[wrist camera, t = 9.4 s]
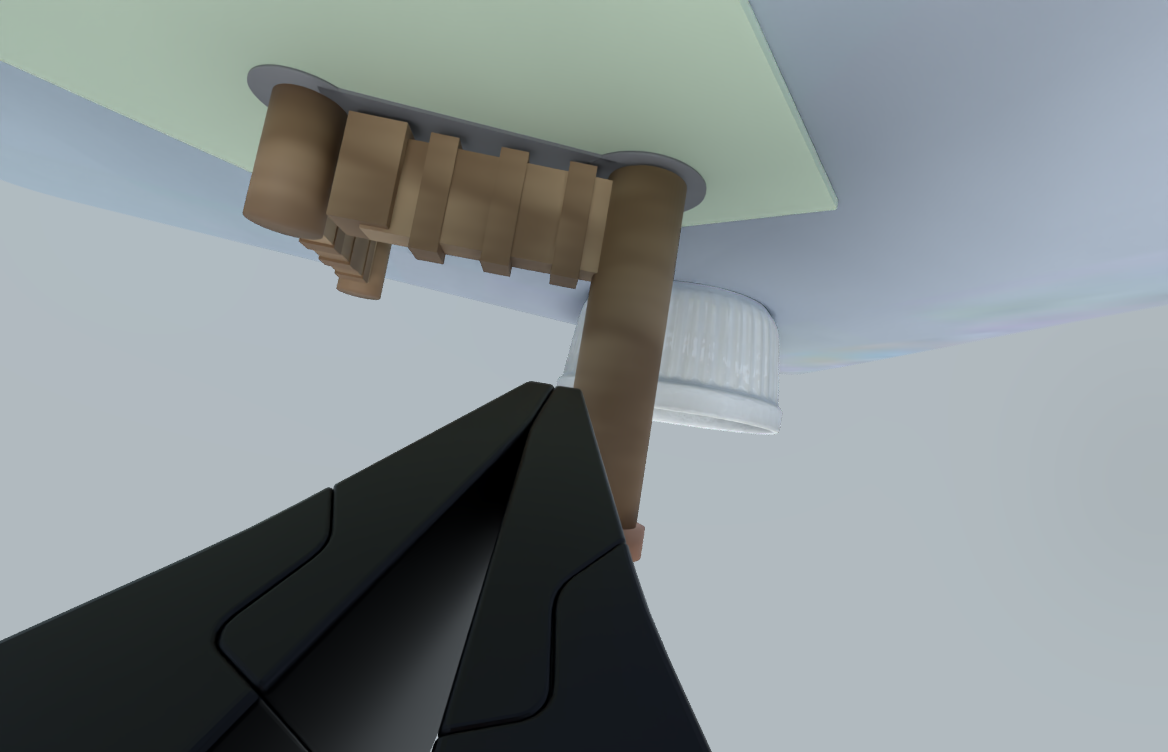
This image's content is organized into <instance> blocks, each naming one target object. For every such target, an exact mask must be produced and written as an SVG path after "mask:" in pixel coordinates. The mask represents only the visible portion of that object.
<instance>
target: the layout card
mask: <svg viewBox="0 0 1168 752" xmlns="http://www.w3.org/2000/svg"><path fill="white" fill-rule="evenodd" d="M0 61H2V62H4V63H7V64H9V65H11V66H13V67H16V68H18V69H20V70H22V71H25V72H27V73H29V74H31V75H34V76H36V77H38V78H40V79H43V80H45V81H47V82H49V83H52V84H54V85H56V86H58V87H60V88H63V89H65V90H67V91H69V92H72V93H74V94H76V95H78V96H81V97H83V98H85V99H87V100H90V101H92V102H94V103H96V104H99V105H101V106H103V107H105V108H107V109H110V110H112V111H114V112H116V113H119V114H121V115H123V116H125V117H128V118H130V119H132V120H134V121H137V122H139V123H141V124H143V125H146V126H148V127H150V128H152V129H155V130H157V131H159V132H161V133H163V134H166V135H168V136H170V137H172V138H175V139H177V140H179V141H181V142H184V143H186V144H188V145H190V146H193V147H195V148H197V149H199V150H202V151H204V152H206V153H208V154H210V155H213V156H215V157H217V158H219V159H222V160H224V161H226V162H228V163H231V164H233V165H235V166H237V167H240V168H242V169H244V170H246V171H249V172H251V173H252V171H253V167H254V163H255V159H256V155H257V151H258V146H259V142H260V138H261V134H262V130H263V126H264V122H265V117H266V113H267V109H268V105H269V101H270V97H271V92H272V88H273V87H274V86H275V85H277V84H284V83H286V84H295V85H299V86H303V87H306V88H309V89H311V90H314V91H316V92H318V93H320V94H322V95H324V96H326V97H328V98H329V99H331V100H332V101H334V102H335V103H337V104H338V105H339V106H340V107H341V108H342V109H343V110H344V111H345V112H346V114H347V115H348V113H349V111H354V112H359V113H364V114H369V115H374V116H378V117H383V118H388V119H393V120H398V121H402V122H407V123H408V124H409V127H410V129H411V131H412V134H413V136H414V138H415V140H418V141H423V142H428V143H429V141H430V136H431V132H434V133H438V134H443V135H448V136H453V137H458V138H460V141H461V145H462V149H463V150H467V151H472V152H476V153H481V154H486V155H491V156H496V157H500V152H501V147H506V148H511V149H516V150H521V151H525V152H529V163H530V164H535V165H540V166H545V167H550V168H554V169H559V170H564V171H569V166H570V161H574V162H579V163H583V164H588V165H593V166H598V167H597V173H596V177H598V178H603V179H608V178H609V176H610V174H611V173H612V172H613V171H615V170H617V169H619V168H622V167H626V166H632V165H648V166H655V167H659V168H663V169H666V170H669V171H671V172H673V173H675V174H677V175H678V176H680V177H681V178H682V179H683V180H684V181H685V183H686V185H687V193H686V199H685V206H684V213H683V219H682V226H681V227H685V226H694V225H703V224H712V223H721V222H730V221H739V220H748V219H757V218H766V217H775V216H784V215H793V214H802V213H811V212H820V211H829V210H837V205H838V199H837V197H836V195H835V193H834V190H833V188H832V186H831V184H830V182H829V179H828V177H827V175H826V173H825V170H824V168H823V166H822V164H821V162H820V159H819V157H818V155H817V153H816V150H815V148H814V146H813V144H812V142H811V139H810V137H809V135H808V133H807V130H806V128H805V126H804V124H803V121H802V119H801V117H800V115H799V113H798V110H797V108H796V106H795V104H794V101H793V99H792V97H791V95H790V93H789V90H788V88H787V86H786V84H785V81H784V79H783V77H782V75H781V73H780V70H779V68H778V66H777V64H776V61H775V59H774V57H773V55H772V52H771V50H770V48H769V46H768V44H767V41H766V39H765V37H764V35H763V32H762V30H761V28H760V26H759V24H758V21H757V19H756V17H755V15H754V12H753V10H752V8H751V6H750V4H749V1H748V0H0Z"/></svg>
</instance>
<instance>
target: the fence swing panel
mask: <svg viewBox="0 0 1168 752" xmlns="http://www.w3.org/2000/svg"><path fill="white" fill-rule="evenodd" d="M597 167H598V166H593V165H588V164H583V163H579V162H574V161H570V166H569V171H564V170H559V169H554V168H550V167H545V166H540V165H535V164H530V163H529V152H525V151H521V150H516V149H511V148H506V147H501V152H500V157H496V156H491V155H486V154H481V153H476V152H472V151H467V150H463V149H462V145H461V141H460V138H458V137H453V136H448V135H443V134H438V133H434V132H431V136H430V141H429V143H428V142H423V141H418V140H415V138H414V136H413V134H412V131H411V129H410V127H409V124H408V123H407V122H402V121H398V120H393V119H388V118H383V117H378V116H374V115H369V114H364V113H359V112H354V111H349V113H348V118H347V122H346V126H345V131H344V135H343V140H342V144H341V149H340V153H339V158H338V162H337V167H336V171H335V176H334V180H333V185H332V189H331V194H330V198H329V203H328V207H327V212H326V215H327V216H328V217H329V218H330V219H331V220H332V221H333V222H334V223H335V224H336V225H337V226H338V227H339V228H340V229H341V230H342V231H343V232H344V233H345V234H346V235H349V236H354V237H360V238H365V239H370V240H373V241H378V242H384V243H389V244H394V245H399V246H405V247H408V248H409V250H410V251H411V252H412V254H413V255H414V256H415V258H416V259H418V260H423V261H429V262H434V263H439V264H444V259H445V254H447V255H452V256H458V257H463V258H468V259H474V260H479V261H480V263H481V266H482V268H483V271H484V272H487V273H493V274H498V275H503V276H509V277H510V274H511V269H512V267H516V268H521V269H527V270H532V271H537V272H542V273H548V274H550V283H549V284H552V285H557V286H562V287H568V288H573V289H575V288H576V285H577V282H578V279H580V280H585V281H590V282H591V285H590V291H589V296H588V302H587V308H586V314H585V320H584V326H583V332H582V338H581V344H580V350H579V356H578V362H577V368H576V374H575V380H574V386H573V388H578V389H580V390H581V391H582V393H583V396H584V399H585V403H586V406H587V409H588V413H589V416H590V420H591V423H592V426H593V430H594V433H595V437H596V440H597V443H598V447H599V450H600V454H601V457H602V460H603V464H604V467H605V471H606V474H607V477H608V481H609V484H610V488H611V491H612V494H613V498H614V501H615V505H616V508H617V511H618V515H619V518H620V522H621V525H622V529H623V532H624V535H625V539H626V544H627V545H628V547H629V550H630V553H631V556H632V560H633V562H635V561H638V560H639V559H640V557H641V551H642V544H643V538H644V530H645V527H644V526H643V525H641V524H639V523H637V517H638V510H639V503H640V497H641V490H642V484H643V477H644V470H645V464H646V457H647V451H648V444H649V437H650V431H651V424H652V417H653V411H654V404H655V398H656V391H657V384H658V378H659V371H660V365H661V358H662V351H663V345H664V338H665V332H666V325H667V318H668V312H669V305H670V298H671V292H672V285H673V279H674V272H675V265H676V259H677V252H678V246H679V239H680V232H681V226H682V219H683V213H684V206H685V199H686V193H687V185H686V183H685V181H684V180H683V179H682V178H681V177H680V176H678V175H677V174H675V173H673V172H671V171H669V170H666V169H663V168H659V167H655V166H648V165H632V166H626V167H622V168H619V169H617V170H615V171H613V172H612V173H611V174H610V176H609V178H608V179H603V178H598V177H596V173H597Z"/></svg>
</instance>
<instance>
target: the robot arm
mask: <svg viewBox="0 0 1168 752" xmlns="http://www.w3.org/2000/svg"><path fill="white" fill-rule="evenodd" d="M437 734H438V739H437V740H436V741H435V738H436V736H437ZM434 741H435V743H434ZM433 743H434V745H433ZM432 746H433V749H432V752H712V751H711V749H710V747H709V745H708V743H707V740H706V738H705V736H704V734H703V732H702V730H701V727H700V725H699V723H698V721H697V719H696V716H695V714H694V712H693V710H692V708H691V705H690V703H689V701H688V699H687V697H686V695H685V692H684V690H683V688H682V686H681V683H680V681H679V679H678V677H677V675H676V673H675V671H674V668H673V666H672V664H671V661H670V659H669V657H668V654H667V652H666V650H665V647H664V645H663V642H662V640H661V638H660V635H659V633H658V631H657V628H656V626H655V623H654V621H653V619H652V616H651V614H650V612H649V608H648V606H647V602H646V600H645V597H644V594H643V591H642V588H641V585H640V582H639V579H638V576H637V573H636V570H635V567H634V563H633V560H632V556H631V553H630V550H629V547H628V545H627V544H626V539H625V535H624V532H623V529H622V525H621V522H620V518H619V515H618V511H617V508H616V505H615V501H614V498H613V494H612V491H611V488H610V484H609V481H608V477H607V474H606V471H605V467H604V464H603V460H602V457H601V454H600V450H599V447H598V443H597V440H596V437H595V433H594V430H593V426H592V423H591V420H590V416H589V413H588V409H587V406H586V403H585V399H584V396H583V393H582V391H581V390H580V389H578V388H572V387H565V386H556V387H555V388H554V387H553V385H551V384H546V383H540V382H533V381H529V382H526V383H525V384H523V385H521V386H519V387H517V388H515V389H513V390H511V391H509V392H508V393H505V394H504V395H502V396H500V397H498V398H496V399H494V400H493V401H491V402H489V403H487V404H485V405H483V406H481V407H479V408H477V409H476V410H474V411H472V412H470V413H468V414H466V415H464V416H462V417H461V418H459V419H457V420H455V421H453V422H451V423H449V424H447V425H446V426H444V427H442V428H440V429H438V430H436V431H434V432H433V433H431V434H429V435H427V436H425V437H423V438H421V439H419V440H418V441H416V442H414V443H412V444H410V445H408V446H406V447H404V448H403V449H401V450H399V451H397V452H395V453H393V454H391V455H390V456H388V457H386V458H384V459H382V460H380V461H378V462H376V463H374V464H373V465H371V466H369V467H367V468H365V469H363V470H361V471H360V472H358V473H356V474H354V475H352V476H350V477H348V478H347V479H344V480H343V481H341V482H339V483H337V484H335V486H334V489H332V488H329V487H328V488H325V489H324V490H322V491H320V492H318V493H316V494H314V495H312V496H311V497H309V498H307V499H305V500H303V501H301V502H299V503H297V504H295V505H293V506H291V507H289V508H287V509H285V510H283V511H282V512H280V513H278V514H276V515H274V516H272V517H270V518H268V519H266V520H264V521H262V522H260V523H258V524H256V525H254V526H252V527H250V528H248V529H246V530H244V531H242V532H239V533H237V534H235V535H233V536H231V537H229V538H227V539H224V540H222V541H220V542H218V543H216V544H214V545H212V546H209V547H207V548H205V549H203V550H201V551H199V552H197V553H194V554H192V555H190V556H188V557H186V558H184V559H182V560H179V561H177V562H175V563H173V564H170V565H168V566H166V567H163V568H161V569H159V570H157V571H155V572H152V573H150V574H148V575H146V576H143V577H141V578H139V579H137V580H135V581H132V582H130V583H128V584H126V585H124V586H121V587H119V588H117V589H115V590H112V591H110V592H108V593H106V594H103V595H101V596H99V597H97V598H95V599H92V600H90V601H88V602H86V603H83V604H81V605H79V606H77V607H74V608H72V609H70V610H68V611H66V612H63V613H61V614H59V615H57V616H54V617H52V618H50V619H48V620H46V621H43V622H41V623H39V624H37V625H35V626H32V627H30V628H28V629H26V630H23V631H21V632H19V633H17V634H14V635H12V636H10V637H8V638H5V639H3V640H1V641H0V752H430V750H431V748H432Z"/></svg>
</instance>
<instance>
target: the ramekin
mask: <svg viewBox="0 0 1168 752" xmlns="http://www.w3.org/2000/svg"><path fill="white" fill-rule="evenodd" d="M587 302H588V299H587V301H586V302H585V304H584V306H583V308H582V310H581V313H580V316H579V319H578V322H577V325H576V328H575V332H574V336H573V339H572V343H571V346H570V350H569V354H568V358H567V361H566V365H565V369H564V374H563V375H562V376H561V377H559V379H558V381H557V386H565V387H572V388H573V386H574V380H575V374H576V368H577V362H578V356H579V350H580V344H581V338H582V332H583V326H584V320H585V314H586V308H587ZM778 391H779V333H778V328H777V326H776V323H775V321H774V320H773V318H772V317H771V316H770V314H769V313H768V311H767V309H766V308H765V307H764V306H763V305H762V304H760V303H759V302H757V301H755V300H753V299H751V298H749V297H747V296H744V295H742V294H739V293H736V292H733V291H729V290H726V289H722V288H718V287H713V286H708V285H703V284H697V283H690V282H682V281H673V285H672V292H671V298H670V305H669V312H668V318H667V325H666V332H665V338H664V345H663V351H662V358H661V365H660V371H659V378H658V384H657V391H656V398H655V404H654V411H653V417H652V421H659V422H665V423H671V424H678V425H685V426H691V427H699V428H706V429H715V430H724V431H732V432H741V433H751V434H769V435H770V434H777V433H779V430H780V425H781V419H782V410H781V409H780V408H779V406H778V393H779V392H778Z"/></svg>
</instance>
